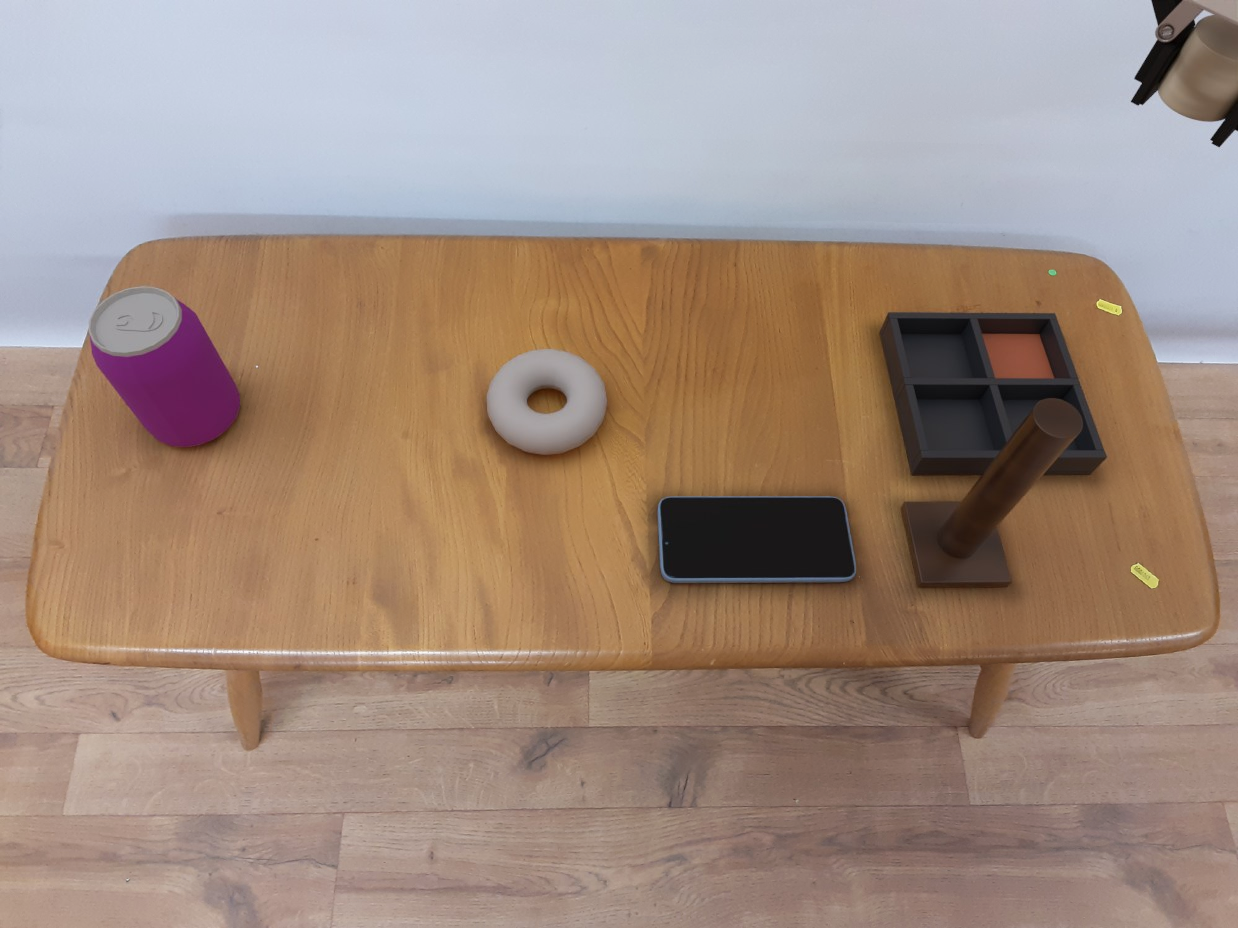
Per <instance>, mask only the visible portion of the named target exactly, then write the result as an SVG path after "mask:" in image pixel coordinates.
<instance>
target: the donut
mask: <svg viewBox="0 0 1238 928" xmlns="http://www.w3.org/2000/svg"><path fill="white" fill-rule="evenodd" d="M545 389H550V390H551V389H552V390H556V391H558V392H561V393H562V394H563V395H564V396H565V399H566V403H565V405H564V406H563V407H562V408H561V409H559V410H557V411H554V412H550V413H542V412H538V411H536V410H533V409H532V408H531V407H530V406H529V404H528V400H529V397H530V396H531V395H532V394H534V393H535V392H537V391H540V390H545ZM485 401H486V411H487V417H488V418H489V420H490V422H491V424H492V426H493V428H494V430H495V432H496V433H497V434H498V435H499V436H500V437H501V438H502V439H503V440H504V441H505V442H506V443H507V444H509V445H511V446H513V447H515V448H517V449H519V450H521V451H523V452H525V453H529V454H534V455H535V454H536V455H541V456H549V455H558V454H559V455H560V454H564V453H566V452H569V451H572V450H575V449H576V448H579V447H580V446H582V445H583V444H584V443H586V442H587V441H588V440H589V439H592V437H593V436H594V435H595V434H596V432H597V431H598V430H599V428H600V427H601V425H602V424H603V422H604V420H605V416H606V411H607V406H608V398H607V391H606V386H605V383H604V381H603V379H602V378H601V375H599V373H598V371H597V370H596V369H595V368H594V367H593V366H592V365H591V364H590V363H588V362H587V361H586V360H585V359H583V358H582V357H580V356H578V355H576V354H573V353H572V352H569V351H567V350H561V349H555V348H543V349H542V348H541V349H532V350H528V351H526V352H524V353H521V354H517V355H516V356H514V357H513V358H511V359H510V360H509V361H507V362H505V363H504V364H503V365H502V366H501V367H500V368H499V370H497V372H496V373H495V375H494V376H493V378H492V379H491V380H490V384H489V387H488V389H487V394H486V400H485Z"/></svg>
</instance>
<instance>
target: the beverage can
mask: <svg viewBox="0 0 1238 928" xmlns="http://www.w3.org/2000/svg"><path fill="white" fill-rule="evenodd" d="M87 331H88V335H89V342H90V349H91V355H92V357H93V360H94V362H95V365H96V367H97V368H98V370H100V372H101V374H103V375H104V377H105V378H106V380H107V381H108V382H109V383H110V385H111V386H112V387H113V389H114V390H115V391H116V393H117V394H118V396H119V397H120V398H121V400H122V401H123V402H124V403H125V405H127V407H128V408H129V410H130V411H131V412H132V414H133V415H134V416H135V417H136V419H137V420H138V421H139V423H140V424H141V425H142V427H143V428H144V429H145V430H146V431H147V432H148V433H149V434H150V435H151V436H152V437H153V438H154V439H155V440H157V441H158V442H160V443H162V444H164V445H166V446H170V447H177V448H189V447H197V446H201V445H204V444H206V443H208V442H210V441H213V440H215V439H217V438H218V437H220V436H221V435H222V434H223V433H225V432H226V431H228V430H229V428H230V426H231V425H232V424H233V423H234V422H235V420H236V419H237V418H238V414H239V411H240V408H241V394H240V392H239V391H240V390H239V389H238V387H237V384H236V383H235V381H234V378H233V377H232V374H231V373H230V372H229V370H228V368H227V366H226V364H225V363H224V361H223V359H222V357H221V355H220V354H219V352H218V350H217V348H216V346H215V344H214V343H213V341H212V340H211V338H210V336H209V334H208V333H207V331H206V329H205V327H204V325H203V323H202V322H201V320H200V319H199V317H198V314H197V313H196V311H194V310H193V309H191V308H190V307H189V306H187V304H185V303H184V302H182V301H181V300H179V299H178V298H176V297H174V296H173V295H172V294H170V293H169V292H168V291H167V290H164V289H161V288H159V287H156V286H146V285H145V286H144V285H141V286H135V287H127V288H125V289H122V290H120V291H117V292H114V293H113V294H111V295H110V296H108V297H106V298H105V299H104V300H102V301H101V302H100V303H99V305H97V306H96V308H94V310H93V312H92V314H91V316H90V318H89V320H88V329H87Z"/></svg>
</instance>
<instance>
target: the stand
mask: <svg viewBox="0 0 1238 928" xmlns="http://www.w3.org/2000/svg"><path fill="white" fill-rule="evenodd" d="M1082 427H1083V421H1082V418H1081V415H1080V414H1079V412H1078V411H1077V410H1076V409H1075V408H1074V407H1073V406H1072V405H1071V404H1069V403H1067V402H1065V401H1063V400H1060V399H1055V398H1048V399H1044V400H1041V401H1039V402H1038V403H1037V404H1036V405H1035V406H1034V408H1033V409H1032V410H1031V412H1030V413H1029V414H1028V415H1027V417H1026V418H1025V419H1024V421H1023V422H1022V423H1021V425H1020V426H1019V427H1018V429H1017V430H1016V431H1015V432H1014V434H1013V435H1012V436H1011V438H1010V439H1009V440H1008V442H1007V443H1006V444H1005V445H1004V447H1003V448H1002V449H1001V451H1000V452H999V453H998V455H997V456H996V457H995V458H994V460H993V461H992V462H991V464H990V465H989V466H988V468H987V469H986V470H985V472H984V473H983V474H982V475H980V477H979V478H978V479H977V480H976V482H975V483H974V484H973V486H972V487H971V488H970V490H969V491H968V492H967V494H966V495H965V496H964V497H963V499H961V501H903V503H902V504H901V506H900V511H901V515H902V521H903V525H904V529H905V534H906V539H907V544H908V548H909V553H910V558H911V563H912V567H913V572H914V576H915V581H916V585H917V586H916V587H917V588H918V589H919V588H921V589H922V588H926V589H927V588H931V589H932V588H1007V587H1009V586H1010V585H1011V584H1012V583H1013V580H1012V577H1011V573H1010V569H1009V565H1008V562H1007V558H1006V555H1005V551H1004V548H1003V543H1002V540H1001V536H1000V533H999V529H998V526H999V525H1000V524H1001V523H1002V521H1004V520H1005V518H1006V517H1007V516H1008V515H1009V514H1010V513H1011V511H1012V510H1013V509H1015V507H1016V506H1017V505H1018V503H1020V502H1021V500H1022V499H1023V498H1024V497H1025V495H1027V494H1028V493H1029V491H1030V490H1031V489H1032V487H1034V486H1035V484H1036V483H1037V482H1038V481H1039V480H1040V479H1041V477H1042V476H1044V475H1043V474H1044V473H1045V472H1046V471H1047V469H1048V468H1049V467H1050V466H1051V465H1052V464H1053V463H1054V462H1055V460H1056V459H1057V458H1058V457H1059V456H1060V455H1061V454H1062V453H1063V451H1064V450H1065V449H1066V448H1067V447H1068V446H1069V445H1070V443H1071V442H1072V441H1073V440H1074V439H1075V438H1076V437H1077V436H1078V434H1079V433H1080V432H1081V430H1082Z"/></svg>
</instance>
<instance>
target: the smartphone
mask: <svg viewBox="0 0 1238 928" xmlns="http://www.w3.org/2000/svg"><path fill="white" fill-rule="evenodd" d="M657 529H658V549H659V551H658V552H659V568H660V573H661V576H662V578H663V579H664V580H665V581H667V582H669V583H672V584H673V583H674V584H708V583H709V584H735V583H737V584H739V583H742V584H743V583H745V584H746V583H747V584H749V583H751V584H752V583H755V584H756V583H766V584H767V583H847V582H850V581H851V580H853V578H854V577H855V576H856V574H857V563H856V557H855V552H854V546H853V541H852V535H851V529H850V523H849V518H848V512H847V508H846V504H845V503H844V502H843V500H842V499H841V498H839V497H837V496H831V495H815V496H814V495H791V496H790V495H786V496H785V495H772V496H771V495H759V496H758V495H755V496H754V495H672V496H671V495H670V496H665V497H663V498H661V499H660V500H659V502H658V504H657Z"/></svg>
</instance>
